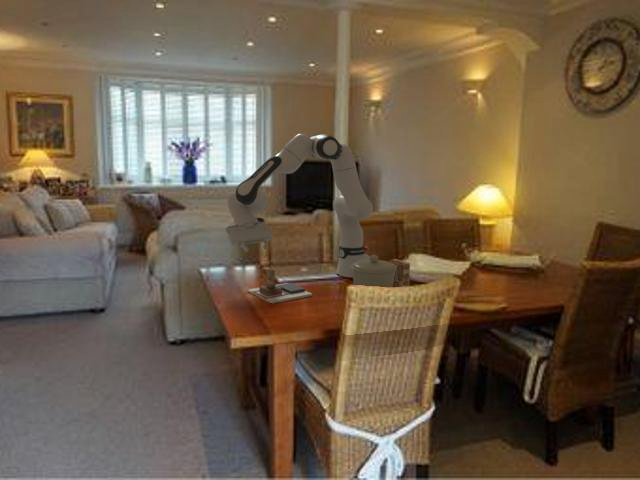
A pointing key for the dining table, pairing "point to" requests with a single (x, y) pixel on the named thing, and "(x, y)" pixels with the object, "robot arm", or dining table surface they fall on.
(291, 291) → the stamp board
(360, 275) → the canister
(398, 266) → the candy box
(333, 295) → the dining table surface
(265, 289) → the stamp
